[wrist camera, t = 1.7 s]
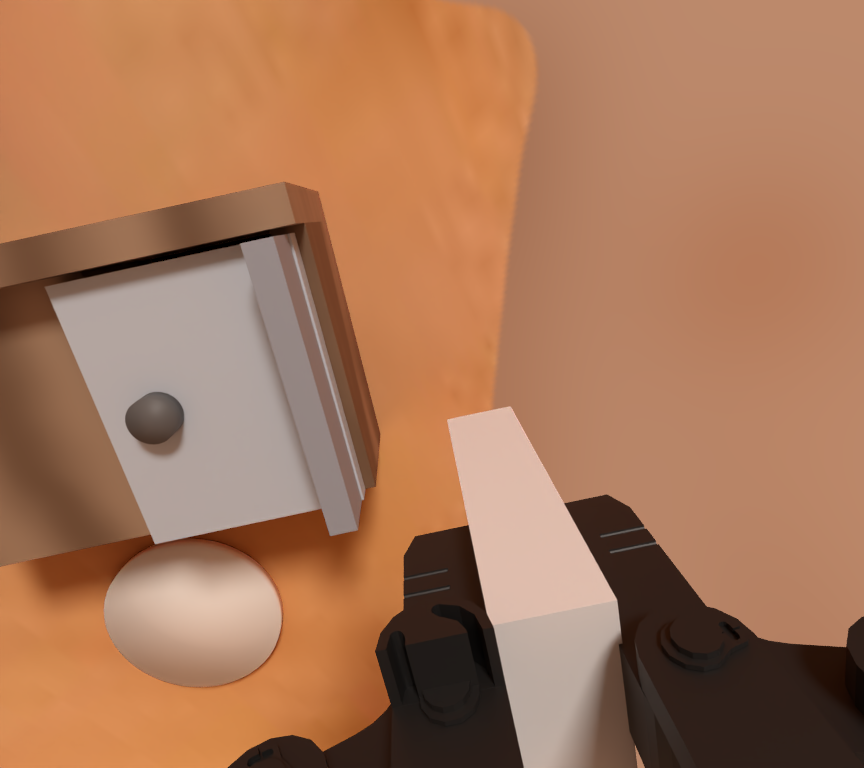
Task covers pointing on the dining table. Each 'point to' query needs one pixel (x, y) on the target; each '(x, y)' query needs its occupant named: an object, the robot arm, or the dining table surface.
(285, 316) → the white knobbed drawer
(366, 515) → the dining table surface
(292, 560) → the dining table surface
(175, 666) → the dish
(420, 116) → the dining table surface
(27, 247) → the wooden frame
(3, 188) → the dining table surface
